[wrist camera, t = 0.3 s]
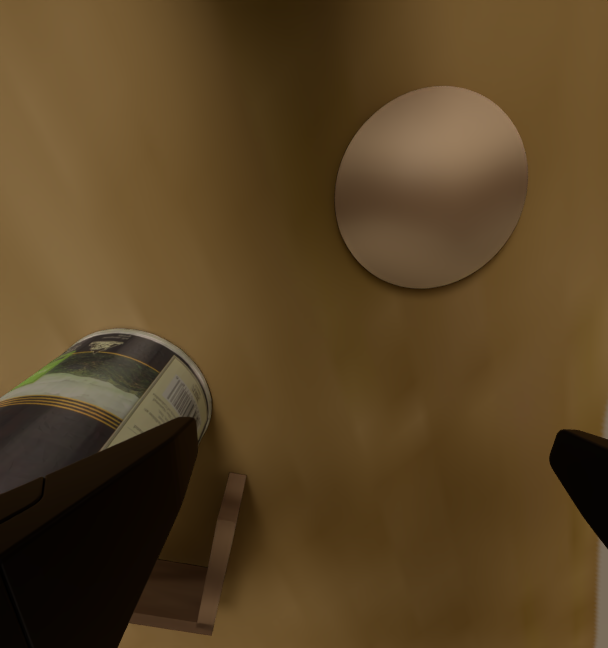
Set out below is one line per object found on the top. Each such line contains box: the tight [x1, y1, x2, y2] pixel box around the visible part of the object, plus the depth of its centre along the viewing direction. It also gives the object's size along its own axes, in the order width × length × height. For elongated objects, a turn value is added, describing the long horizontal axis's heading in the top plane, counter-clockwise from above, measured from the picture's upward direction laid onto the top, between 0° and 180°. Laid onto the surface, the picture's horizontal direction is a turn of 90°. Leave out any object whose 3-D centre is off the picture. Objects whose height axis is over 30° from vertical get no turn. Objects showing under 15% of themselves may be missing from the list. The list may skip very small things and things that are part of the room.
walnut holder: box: [129, 472, 246, 636], centre depth 26 cm, size 11×16×4 cm
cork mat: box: [334, 86, 528, 289], centre depth 20 cm, size 10×10×1 cm
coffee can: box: [0, 328, 212, 494], centre depth 18 cm, size 10×10×14 cm
